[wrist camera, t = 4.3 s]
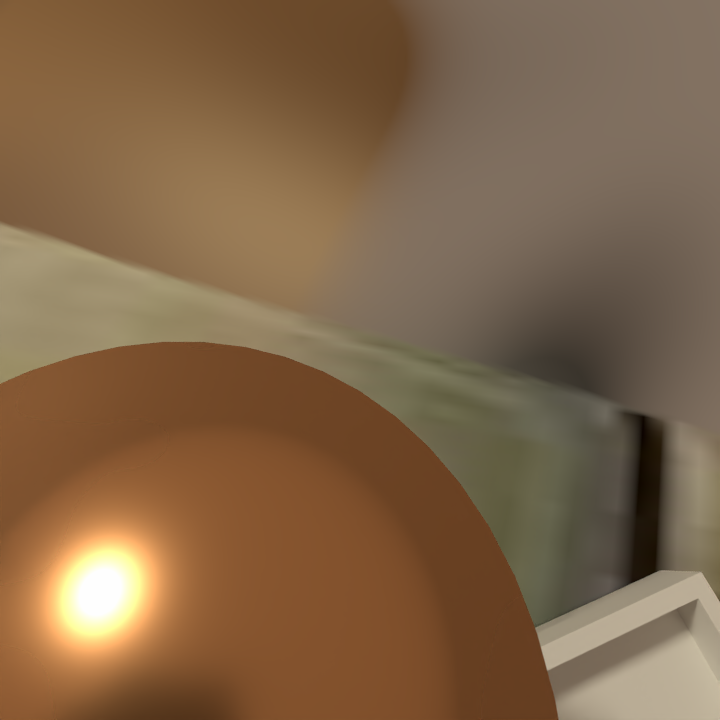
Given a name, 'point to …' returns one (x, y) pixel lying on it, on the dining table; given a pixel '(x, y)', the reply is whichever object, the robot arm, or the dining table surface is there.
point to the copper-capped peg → (243, 552)
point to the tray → (638, 652)
